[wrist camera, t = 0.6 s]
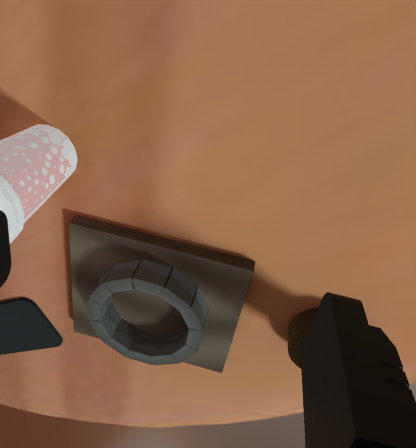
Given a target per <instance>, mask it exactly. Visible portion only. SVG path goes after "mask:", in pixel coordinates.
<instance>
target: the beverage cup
mask: <svg viewBox="0 0 416 448" xmlns="http://www.w3.org/2000/svg"><path fill="white" fill-rule="evenodd" d="M76 164H77V155H76V151H75V148H74V146H73V145H72V143H71V141H70V140H69V138H68V137H67V136H66V135H64V134H63V133H62V132H61V131H60V130H59V129H56V128H54V127H52V126H50V125H40V124H37V125H35V126H33V127H30V128H28V129H26V130H23V131H21V132H19V133H16V134H14V135H12V136H9V137H7V138H5V139H2V140H0V210H1V211H3V212H4V213H5V214H6V216H7V220H8V230H9V242H10V243H11V242H12V241H13V240H14V239H15V238H16V237H17V236H18V234H19V233H20V232H21V231H22V230H23V224H24V223H25V222H26V221H27V220H28V219H29V218H30V217H31V216H32V215H33V214H34V213H35V212H36V211H37V210H38V209H39V207H40V206H41V205H42V204H43V203H44V202H45V201H46V200H47V199H48V198H49V197H50V196H51V195H52V194H53V193H54V192H55V191H56V190H57V189H58V188H59V187H60V186H61V185H62V184H63V182H64V181H65V180H66V179H67V178H68V177H69V176H70V175H71V174H72V173H73V172H74V170H75V169H76Z"/></svg>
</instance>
